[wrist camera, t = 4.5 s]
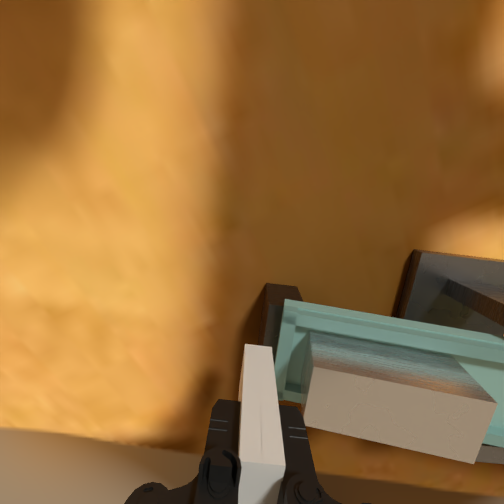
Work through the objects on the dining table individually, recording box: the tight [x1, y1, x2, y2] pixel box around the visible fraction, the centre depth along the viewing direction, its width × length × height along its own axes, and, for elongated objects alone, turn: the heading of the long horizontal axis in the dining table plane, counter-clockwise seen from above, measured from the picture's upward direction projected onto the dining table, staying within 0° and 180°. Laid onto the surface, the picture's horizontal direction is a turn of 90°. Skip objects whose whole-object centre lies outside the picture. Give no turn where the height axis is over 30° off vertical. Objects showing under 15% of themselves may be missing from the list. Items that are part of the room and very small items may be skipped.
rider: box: [300, 330, 498, 464], centre depth 14 cm, size 3×8×4 cm, turn 83°
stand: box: [258, 249, 504, 464], centre depth 18 cm, size 13×29×7 cm, turn 83°
